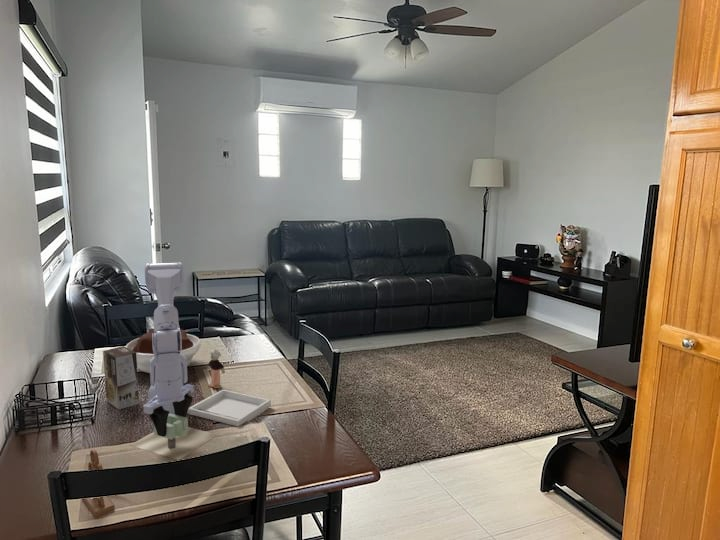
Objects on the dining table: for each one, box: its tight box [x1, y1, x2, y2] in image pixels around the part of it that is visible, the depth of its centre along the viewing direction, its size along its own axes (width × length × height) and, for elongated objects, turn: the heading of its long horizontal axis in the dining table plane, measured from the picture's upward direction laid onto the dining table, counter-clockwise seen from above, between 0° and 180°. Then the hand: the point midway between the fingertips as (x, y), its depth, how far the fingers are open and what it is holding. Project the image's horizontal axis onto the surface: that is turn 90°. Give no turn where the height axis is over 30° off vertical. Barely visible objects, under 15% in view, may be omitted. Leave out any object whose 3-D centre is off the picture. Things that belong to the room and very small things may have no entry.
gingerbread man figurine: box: [82, 448, 116, 518], centre depth 108 cm, size 9×4×12 cm, turn 43°
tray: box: [187, 388, 272, 427], centre depth 152 cm, size 18×16×2 cm
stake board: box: [129, 426, 218, 461], centre depth 133 cm, size 16×14×5 cm
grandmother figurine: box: [207, 349, 226, 389], centre depth 169 cm, size 8×4×13 cm, turn 68°
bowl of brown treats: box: [125, 328, 202, 374], centre depth 185 cm, size 25×25×15 cm
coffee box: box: [102, 345, 140, 410], centre depth 156 cm, size 9×6×16 cm
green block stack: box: [153, 413, 189, 440], centre depth 129 cm, size 7×6×3 cm
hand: (171, 429), depth 129 cm, fingers closed on green block stack, 6 cm apart
